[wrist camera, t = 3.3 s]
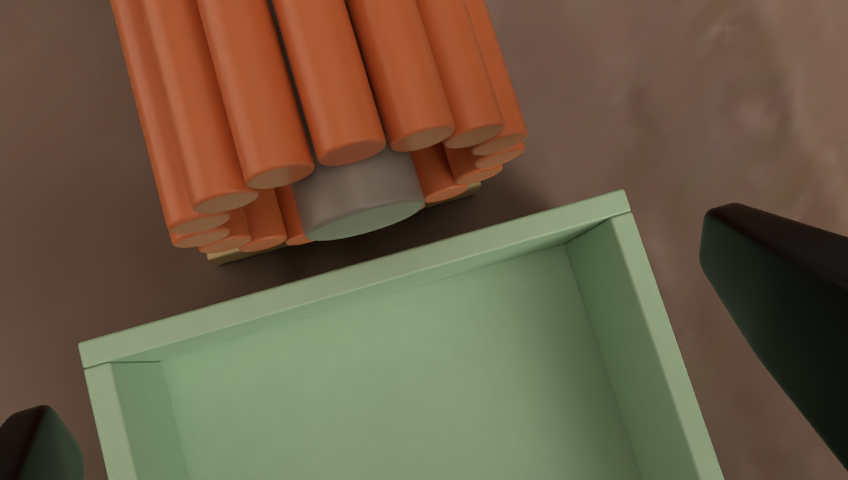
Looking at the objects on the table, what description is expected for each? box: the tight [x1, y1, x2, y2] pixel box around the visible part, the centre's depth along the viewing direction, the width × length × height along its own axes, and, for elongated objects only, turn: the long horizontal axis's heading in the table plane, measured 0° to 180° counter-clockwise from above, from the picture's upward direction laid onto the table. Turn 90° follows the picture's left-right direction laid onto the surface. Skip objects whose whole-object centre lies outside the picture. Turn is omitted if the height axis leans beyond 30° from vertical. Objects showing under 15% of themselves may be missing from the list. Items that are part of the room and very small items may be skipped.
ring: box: [110, 0, 528, 253], centre depth 13 cm, size 5×6×6 cm
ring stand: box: [206, 0, 481, 265], centre depth 15 cm, size 8×8×13 cm
